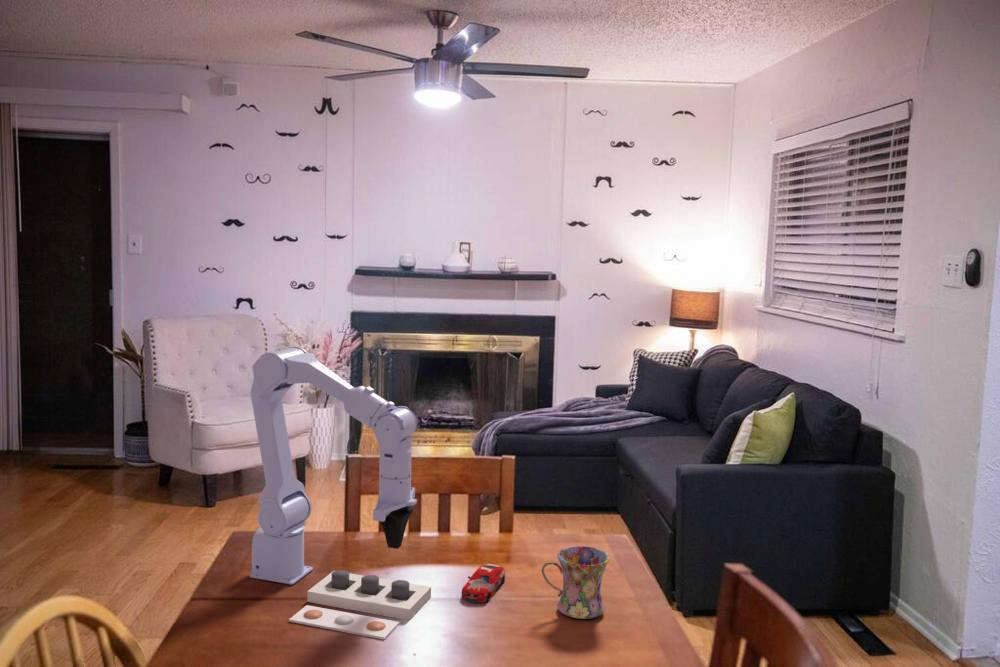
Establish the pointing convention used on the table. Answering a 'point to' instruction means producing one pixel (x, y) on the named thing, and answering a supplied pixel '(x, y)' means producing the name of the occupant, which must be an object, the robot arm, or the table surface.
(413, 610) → the button board
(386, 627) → the pattern card
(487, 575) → the race car
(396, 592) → the button outer
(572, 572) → the mug
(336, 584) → the button inner
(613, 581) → the table surface
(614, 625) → the table surface
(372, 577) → the button middle
